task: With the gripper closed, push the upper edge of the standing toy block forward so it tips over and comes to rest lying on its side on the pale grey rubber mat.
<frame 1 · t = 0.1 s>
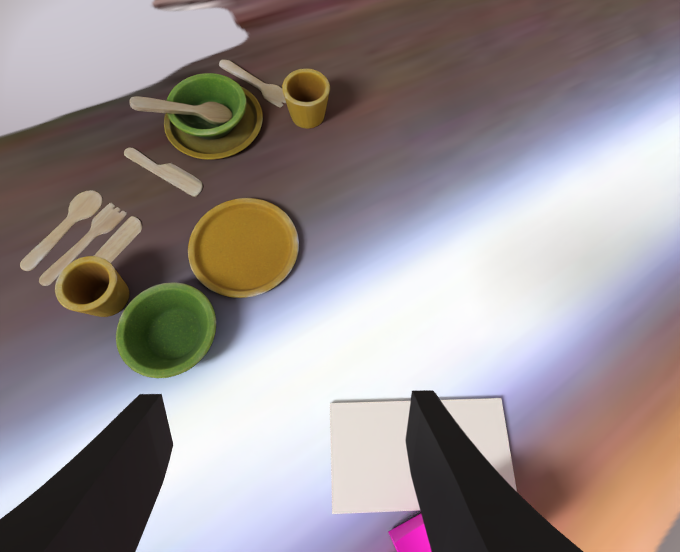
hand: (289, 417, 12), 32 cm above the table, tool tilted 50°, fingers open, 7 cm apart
tableware set: (213, 202, 52), on the table
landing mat: (420, 452, 41), on the table
toy block: (430, 550, 38), on the table, touching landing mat
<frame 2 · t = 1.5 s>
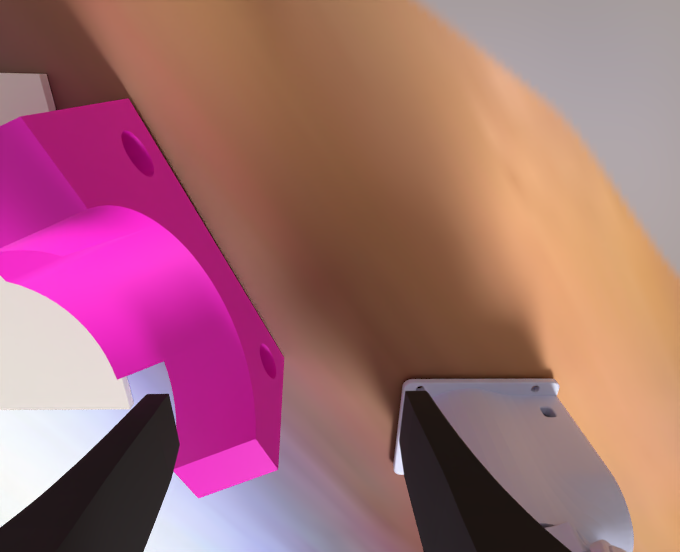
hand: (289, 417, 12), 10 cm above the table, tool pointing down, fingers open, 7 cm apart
toy block: (164, 270, 21), on the table, touching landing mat
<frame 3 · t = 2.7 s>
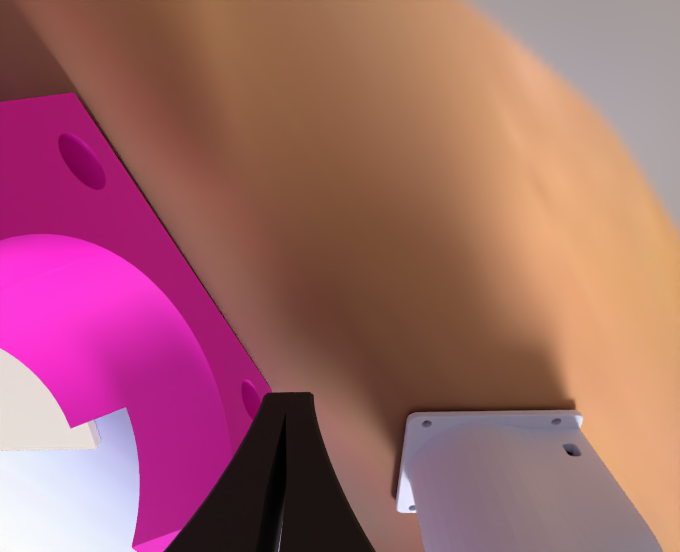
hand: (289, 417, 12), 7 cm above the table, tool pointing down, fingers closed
toy block: (129, 295, 18), on the table, touching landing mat
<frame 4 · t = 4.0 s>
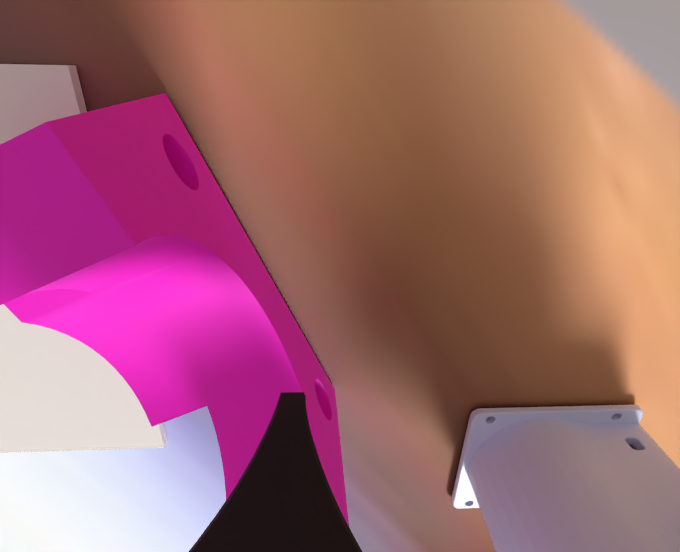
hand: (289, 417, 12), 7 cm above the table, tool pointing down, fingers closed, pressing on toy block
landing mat: (13, 296, 18), on the table
toy block: (202, 294, 18), on the table, touching gripper, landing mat
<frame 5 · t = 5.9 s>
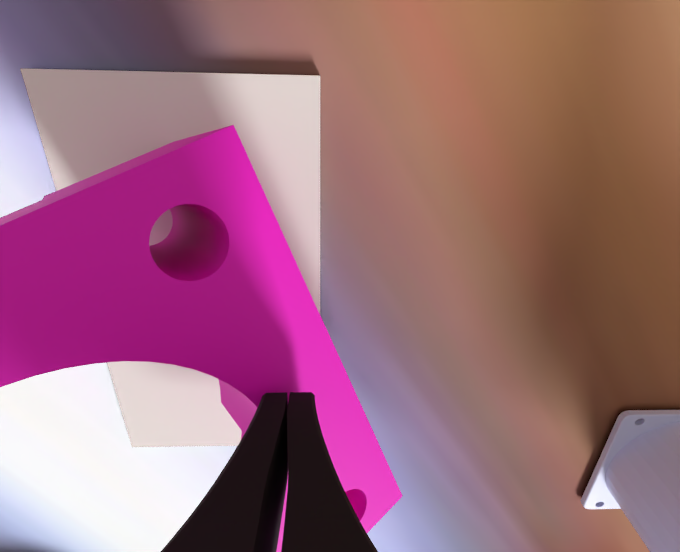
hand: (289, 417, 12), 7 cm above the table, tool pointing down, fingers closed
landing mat: (208, 295, 18), on the table
toy block: (297, 324, 16), point 3 cm above the table, touching gripper, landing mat
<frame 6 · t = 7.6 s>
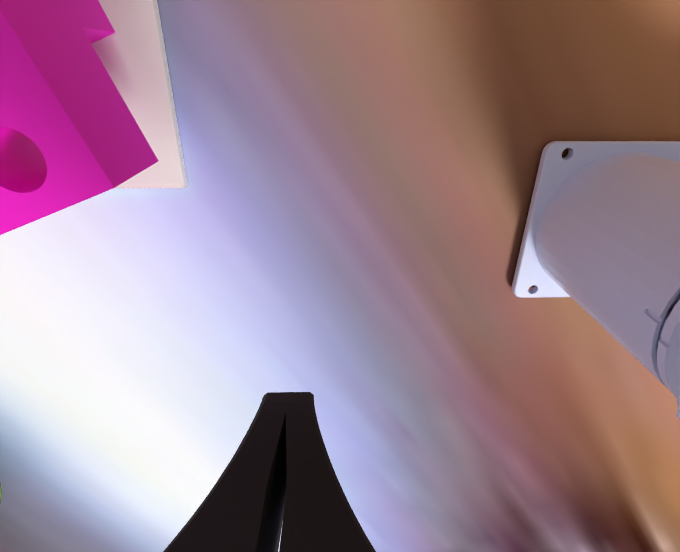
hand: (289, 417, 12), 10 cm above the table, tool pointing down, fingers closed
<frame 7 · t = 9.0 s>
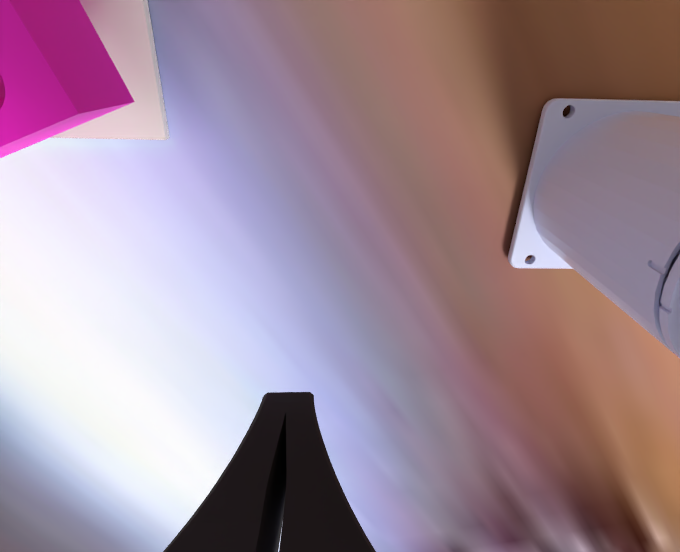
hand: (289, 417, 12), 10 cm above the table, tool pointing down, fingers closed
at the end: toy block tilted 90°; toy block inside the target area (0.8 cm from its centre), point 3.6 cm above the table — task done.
